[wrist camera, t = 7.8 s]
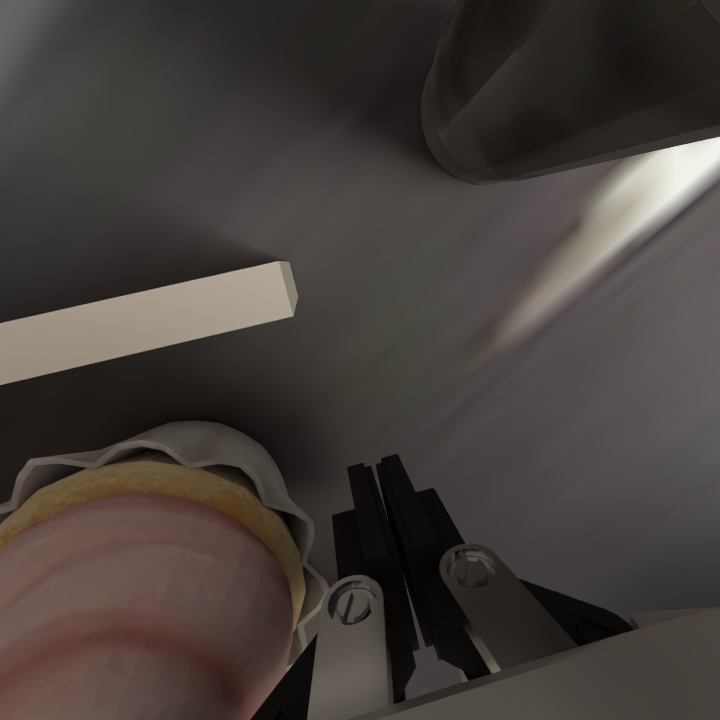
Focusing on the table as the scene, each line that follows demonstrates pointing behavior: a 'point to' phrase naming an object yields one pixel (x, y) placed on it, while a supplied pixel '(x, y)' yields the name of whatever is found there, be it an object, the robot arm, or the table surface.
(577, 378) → the table surface
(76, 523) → the cupcake
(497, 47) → the beverage cup
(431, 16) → the table surface
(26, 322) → the box
